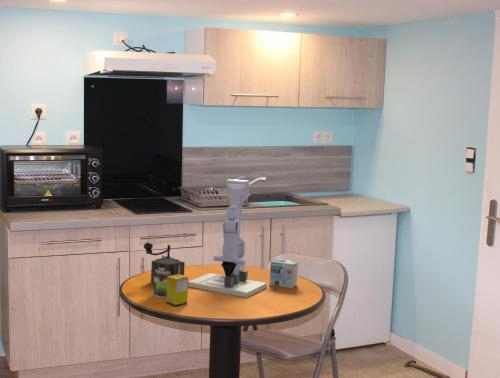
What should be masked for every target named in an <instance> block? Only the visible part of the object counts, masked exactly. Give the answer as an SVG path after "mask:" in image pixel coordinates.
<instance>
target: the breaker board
mask: <svg viewBox="0 0 500 378" xmlns="http://www.w3.org/2000/svg"><path fill="white" fill-rule="evenodd" d="M224 275H225V274H223V275H222V274H218V273H211V272H209V273H207V274H203V275H202V276H201V275H200V276H199V277H197V278H194V279H192V280H188V288H189V287H190V288H194V289H195V288H196V289H200V290H205V291H211V292H216V293H221V294H226V295H231V296H237V297H242V298H249V297H251V296H253V295H255V294H257V293H259V292H261V291H263V290H264V289H267V287H268V282H263V281H257V280H251V279H247V280H246V281H241V280H239V283H238V284H233V287H231V288H230V287H224V281H225V277H226V276H224Z"/></svg>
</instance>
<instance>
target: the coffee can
mask: <svg viewBox="0 0 500 378" xmlns="http://www.w3.org/2000/svg"><path fill="white" fill-rule="evenodd" d="M172 258H173V257H172ZM172 258H163V257H160V258H156V259H154V261H155V272H154V283H153V296H154V297H156V298H159V299H167V276H171V275H177V274H180V261H181V260H180V259H177V258H174V259H172Z"/></svg>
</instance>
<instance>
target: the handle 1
mask: <svg viewBox="0 0 500 378" xmlns="http://www.w3.org/2000/svg"><path fill="white" fill-rule="evenodd" d="M233 283H234V277H231V276H226V277H225V281H224V287H230V288H231V287H233Z"/></svg>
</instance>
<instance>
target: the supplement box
mask: <svg viewBox="0 0 500 378" xmlns="http://www.w3.org/2000/svg"><path fill="white" fill-rule="evenodd" d="M188 282H189V277H188V276H187V275H184V276H183V275H181V274H177V275H171V276H167V298H166V304H167V305H170V306H173V307H175V308H176V307H180V306H185V305H188V288H189V287H188Z"/></svg>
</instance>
